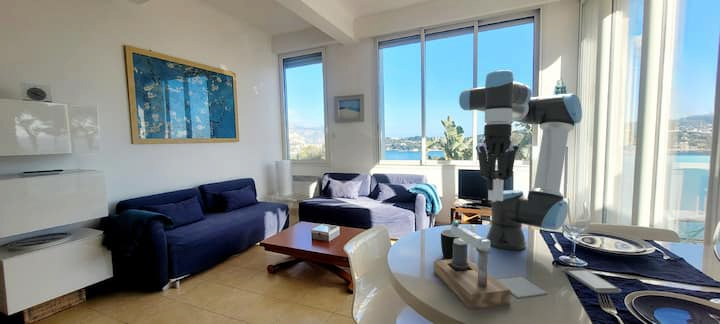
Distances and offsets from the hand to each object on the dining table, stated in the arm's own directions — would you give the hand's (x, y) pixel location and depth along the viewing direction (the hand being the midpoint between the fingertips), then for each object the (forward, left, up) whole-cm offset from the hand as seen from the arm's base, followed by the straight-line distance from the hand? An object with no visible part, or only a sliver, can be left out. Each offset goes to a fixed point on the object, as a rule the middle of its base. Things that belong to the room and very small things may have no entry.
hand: (495, 200), depth 89 cm
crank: (+9, 0, -12) cm, 15 cm away
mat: (-6, +4, -26) cm, 28 cm away
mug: (+3, -20, -27) cm, 34 cm away
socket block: (+9, 0, -26) cm, 28 cm away
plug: (+9, -4, -26) cm, 28 cm away
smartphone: (-31, +6, -27) cm, 42 cm away
